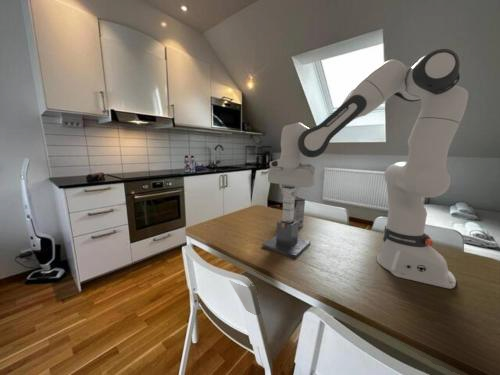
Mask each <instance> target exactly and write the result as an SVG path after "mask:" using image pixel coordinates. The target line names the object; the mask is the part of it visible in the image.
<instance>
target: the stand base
mask: <svg viewBox="0 0 500 375" xmlns="http://www.w3.org/2000/svg"><path fill="white" fill-rule="evenodd" d="M298 222H299V221H295V220H294V222H293V223H292V224H286V223H282V219H280V220H278V221H277V222H276V235H274V236H273V237H271V238H269V239H268V240H266V241H265V242H263V243H262V244H261V245H262V246H261V247H262V248H263V249H267V250H269V251H272V252H276V253H278V254H280V255H283V256H287V257H289V258H292V259H295V260H296V259H297V258H298V257H300V255H301V254H302V253H303V252H304V251H306V249H307V248H309V247H310V245H311V241H310V240H308V239H303V238H299V236H298V234H299V227H298Z"/></svg>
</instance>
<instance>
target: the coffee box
mask: <svg viewBox="0 0 500 375" xmlns="http://www.w3.org/2000/svg"><path fill="white" fill-rule="evenodd" d="M294 201H295V203H294V208H295V209H294V219H293V220H295V221H299V222H298V228H302V227H304V217H305V202H306V199H305V198H302V197H299V196H295V200H294Z"/></svg>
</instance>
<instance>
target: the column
mask: <svg viewBox="0 0 500 375" xmlns="http://www.w3.org/2000/svg"><path fill="white" fill-rule="evenodd" d="M283 187H284V194H282V196H283V199H282V208H281V210H282V217H281V218H282V219H281V220H282V223H286V224H292V223H293V222H294V220H293V219H294V209H295V208H294V203H295V201H294V200H295V196H292V192H294V191H295V190H296V188H295V186H292V185H285V186H283Z"/></svg>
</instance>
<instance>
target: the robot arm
mask: <svg viewBox="0 0 500 375" xmlns="http://www.w3.org/2000/svg"><path fill="white" fill-rule="evenodd" d="M460 64H461V63H460V59H459V55H458V54H457V53H456V52H455V51H454V50H452V49H448V48H440V49H436V50H432V51H430V52H429V53H427V54H425V55H423V56H422V57H421V58H419V60H417V62H416V63H414V65H412V66H411V65H410V66H409V65H406V64H404V63H403V62H402V61H400V60H397V59H390V60H387V61H384V63H382V64H381V65H379V66H377V67H376V68H375V69H373V70H372V71H371V72H369V74H367V75H366V76H364V78H363V79H362V80H360V81H359V82H358V83H357V84H356V85H355V87H354V88H352V90H351V91H350V92H349V93H348V95H347V96H346V98H345V99H344V101H343V102H342V103H341V105H339V107H338V108H337V109H335V110H334V111H333V112H332V113H331V114H329V116H328V117H327V118H324V120H323V121H322V122H320V123H319V124H318V125H316V126H313V127H310V128H309V127H307V126H306V125H305V124H303V123H302V122H299V121H298V122H291V123H287V124H286V125H284V126H283V128H282V129H281V136H280V137H281V138H280V149H281V152H280V157H279V158H278V159H275V160H272V161H270V162H269V169H268V172H267V182H268V183H270V184H277V185H278V186H279V188H280V190H281V195H283V194H284V186H286V185H290V186H295V191H294V192H292V196H296V197H298V192H299V191H300V189H301V188H311V187H314V185H315V176H314V175H315V171H316V168H315V166H314V165H312V164H311V163H302V161H303V160H302V159H303V157H302V156H305V157H307V158H316V157H319V156H321V155H322V154H323V153H324V152H325V151H326V149H327V148H328V146H329V143H330V142H331V140H332V139H333V138H334V137H335V136H336V135H338V133H339V132H340V131H342V130H343V129H344V128H346V126H347V125H349V124H350V123H351V122H352V121H354V120H356V119H358V118H360V117H361V118H362V117H365V116H367V115H369V114H370V113H372V112H373V111H374V110H376V109H377V108H379V107H380V106H382V105H383V103H386V101H387V100H388V99H390V98H391V97H392V96H396V97H398V98H400V100H403V101H406V102H411V103H413V102H418V101H420V102H421V108H420V111H419V114H418V116H417V119H416V121H415V123H414V125H413V126H412V127H413V128H412V130H411V132H410V135H409V137H408V139H407V146H408V156H407V161H403V160H402V161H399V162H395V163H393V164H391V165H389V166H388V167H387V168H386V169H385V171H384V174H383V176H384V181H385V182H386V187H387V188H386V190H387V199H388V200H387V201H388V210H387V211H388V212H387V217H386V218H387V219H386V225H385V226H384V229H383V236H382V240H383V241H382V244H381V248H380V252H379V254H378V255H377V258H376V262H377V263H378V264H379V265H380V266H381V267H383V268H384V269H386V270H387V271H389V272H390V273H391V274H392V275H394V276H395V277H397V278H400V279H401V278H402V279H405V280H409V281H410V280H411V281H415V282H419V283H422V284H423V283H424V284H428V285H430V286H431V285H432V286H436V287H440V288H445V289H451V290H452V289H454V288H455V287H456V284H457V283H456V280H457V279H456V277H455V276H454V274H453V273H452V272H451V270H449V269H448V263H447V260H446V259H445V258H444V256H443V255H442V254H440V253H439V252H438V251H437V250H436V249H435V248H433V245H434V241H433V240H432V238H431V237H430V236H429V234H428V233H425V227H426V221H427V216H428V215H427V214H428V213H427V209H426V207H425V205H424V203H423V202H424V201H423V198H436V197H439V196H441V195H443V194H445V193H446V192H447V191H448V190H449V188H450V186H451V182H452V181H451V176H450V174H449V172H448V168H447V164H448V163H447V160H448V154H449V150H450V146H451V144H452V142H453V139H454V138H455V134H456V132H457V130H458V128H459V126H460V125H461V122H462V119H463V118H464V114H465V111H466V108H467V103H468V100H469V91H468V90H467V89H466V88H464V87H462V86H459V85H457V83H459V81H460V79H461V78H460V77H461V76H460V72H459V71H460Z"/></svg>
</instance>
